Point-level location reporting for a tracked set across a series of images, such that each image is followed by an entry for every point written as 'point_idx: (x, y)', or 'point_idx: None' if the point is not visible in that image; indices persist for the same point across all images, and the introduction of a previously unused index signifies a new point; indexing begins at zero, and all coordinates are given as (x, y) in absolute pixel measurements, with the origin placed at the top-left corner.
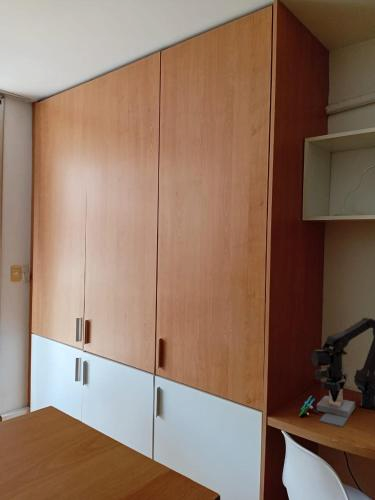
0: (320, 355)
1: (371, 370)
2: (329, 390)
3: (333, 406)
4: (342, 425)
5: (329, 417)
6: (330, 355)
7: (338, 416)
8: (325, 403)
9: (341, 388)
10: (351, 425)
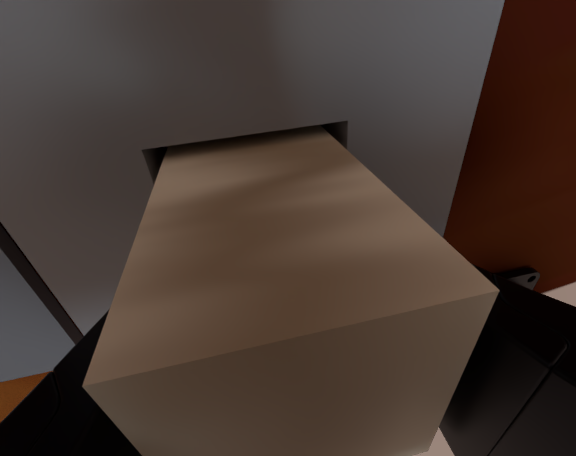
0: None
1: None
2: (93, 389)
3: (114, 250)
4: None
5: None
6: None
7: (30, 311)
8: (109, 108)
9: (460, 449)
10: (10, 402)
